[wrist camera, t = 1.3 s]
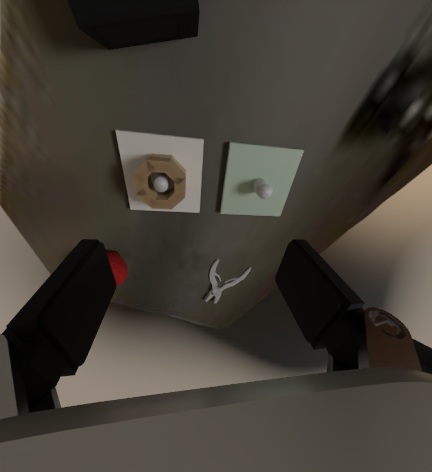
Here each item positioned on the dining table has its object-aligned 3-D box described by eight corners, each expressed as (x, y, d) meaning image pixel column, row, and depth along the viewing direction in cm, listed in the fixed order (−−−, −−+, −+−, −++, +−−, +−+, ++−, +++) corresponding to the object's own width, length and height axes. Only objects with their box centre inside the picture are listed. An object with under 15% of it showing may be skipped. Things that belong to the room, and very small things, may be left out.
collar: (137, 151, 26) (129, 158, 22) (186, 156, 27) (185, 163, 23) (143, 197, 30) (137, 207, 26) (185, 199, 31) (184, 210, 27)
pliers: (253, 271, 43) (226, 305, 51) (251, 266, 45) (225, 300, 52) (217, 261, 40) (193, 299, 48) (216, 257, 41) (193, 294, 49)
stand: (117, 129, 25) (104, 133, 21) (203, 138, 26) (205, 143, 23) (132, 206, 32) (124, 219, 28) (199, 210, 33) (200, 222, 30)
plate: (229, 141, 27) (236, 147, 23) (300, 149, 29) (319, 156, 25) (219, 211, 34) (223, 225, 30) (278, 213, 36) (289, 227, 32)
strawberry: (132, 266, 40) (116, 306, 32) (94, 258, 37) (67, 299, 29) (137, 247, 37) (121, 286, 29) (97, 237, 34) (68, 276, 26)
